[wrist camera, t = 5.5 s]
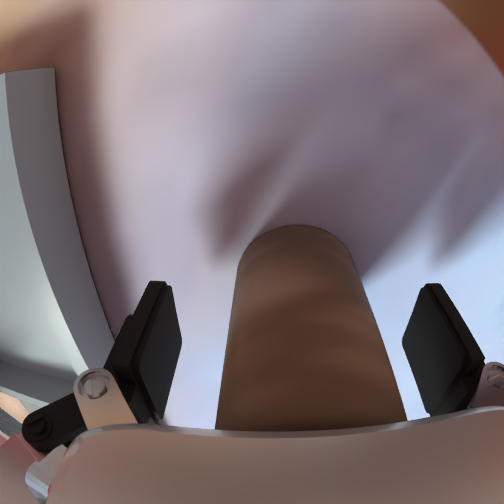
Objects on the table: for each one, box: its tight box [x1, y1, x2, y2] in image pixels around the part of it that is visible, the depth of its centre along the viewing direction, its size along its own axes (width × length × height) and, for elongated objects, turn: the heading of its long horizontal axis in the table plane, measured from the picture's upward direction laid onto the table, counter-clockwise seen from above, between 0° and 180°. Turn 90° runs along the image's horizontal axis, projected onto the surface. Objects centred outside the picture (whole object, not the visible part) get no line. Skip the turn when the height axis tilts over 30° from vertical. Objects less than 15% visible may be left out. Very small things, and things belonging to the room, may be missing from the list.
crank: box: [0, 408, 22, 440], centre depth 17 cm, size 14×5×5 cm, turn 40°
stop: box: [215, 225, 408, 432], centre depth 10 cm, size 5×5×8 cm
